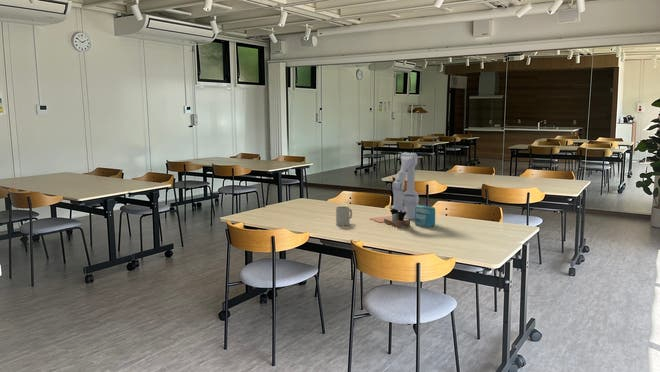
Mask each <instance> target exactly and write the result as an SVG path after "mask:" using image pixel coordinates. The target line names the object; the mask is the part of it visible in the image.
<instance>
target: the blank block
mask: <svg viewBox="0 0 660 372" xmlns="http://www.w3.org/2000/svg"><path fill="white" fill-rule="evenodd" d="M391 216H392V221H393V222H395V223H396V221H399V217H398V214H392V213H391Z"/></svg>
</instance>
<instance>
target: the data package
mask: <svg viewBox="0 0 660 372" xmlns="http://www.w3.org/2000/svg"><path fill="white" fill-rule="evenodd" d="M414 224H415V226H418V225H421V226H420V227H424V226H427V227H426V228H432V227H435V225H436V208H435V207H433V206H425V205H419V206H417V207H415V219H414Z"/></svg>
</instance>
